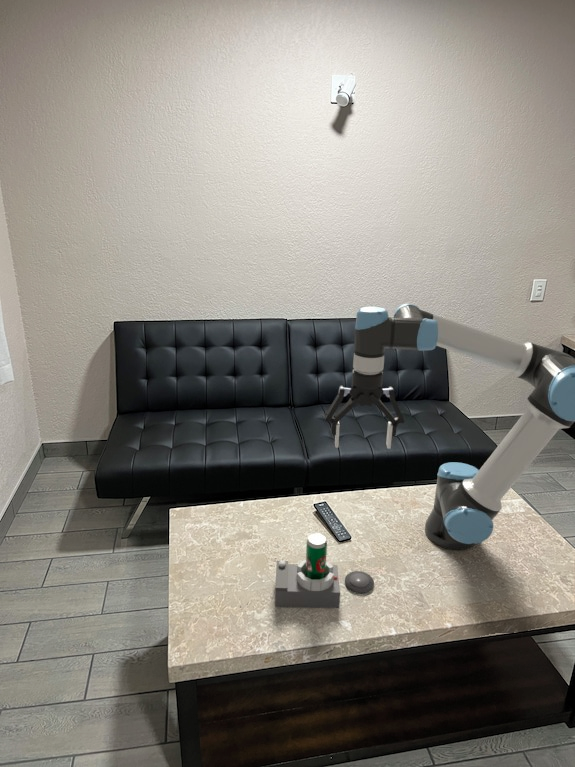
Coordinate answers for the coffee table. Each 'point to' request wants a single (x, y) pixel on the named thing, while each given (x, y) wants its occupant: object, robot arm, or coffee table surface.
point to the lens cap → (359, 582)
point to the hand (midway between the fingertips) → (362, 445)
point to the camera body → (306, 587)
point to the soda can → (316, 557)
